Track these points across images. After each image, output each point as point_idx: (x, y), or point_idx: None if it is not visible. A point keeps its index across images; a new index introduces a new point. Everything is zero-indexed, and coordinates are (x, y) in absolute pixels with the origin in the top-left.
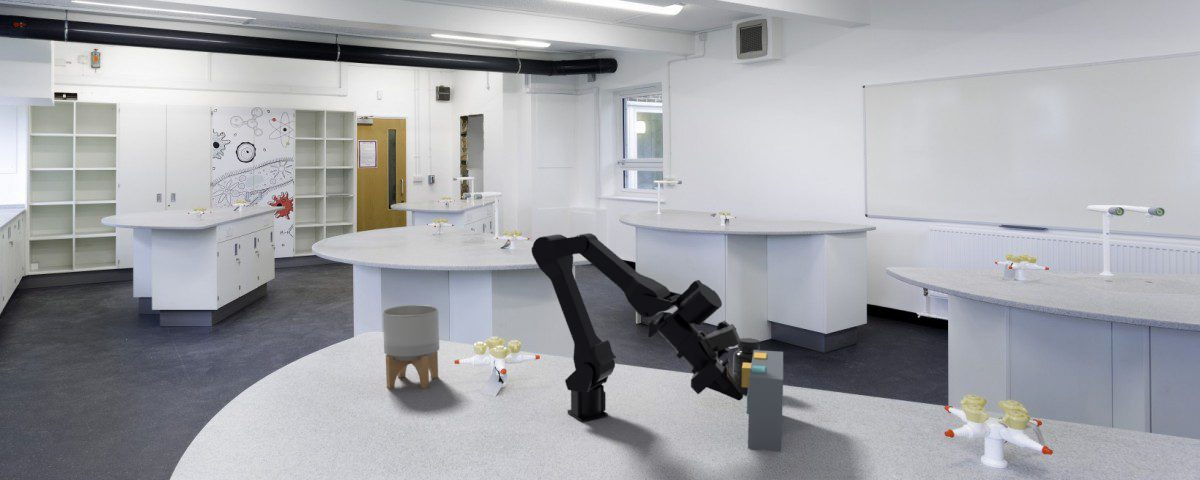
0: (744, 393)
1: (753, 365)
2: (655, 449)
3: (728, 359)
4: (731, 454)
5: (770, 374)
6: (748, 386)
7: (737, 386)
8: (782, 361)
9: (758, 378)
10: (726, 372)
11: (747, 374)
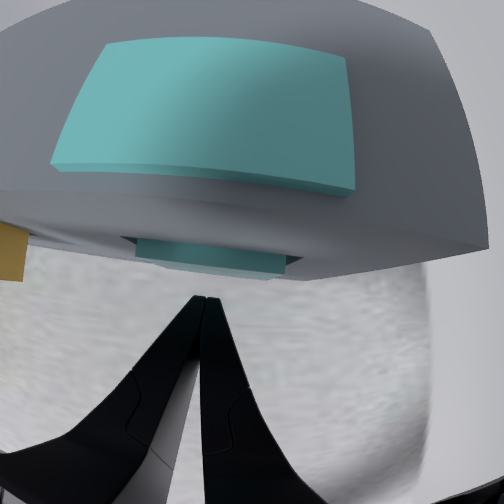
0: None
1: (16, 166)
2: (328, 491)
3: (17, 493)
4: (350, 328)
5: (346, 40)
6: (23, 248)
7: (174, 340)
8: (17, 24)
9: (473, 165)
10: (319, 499)
11: None
